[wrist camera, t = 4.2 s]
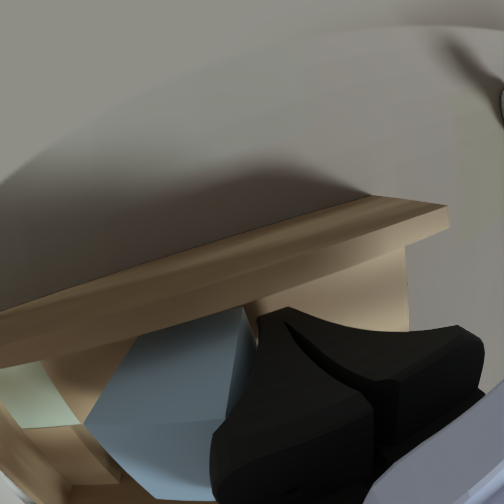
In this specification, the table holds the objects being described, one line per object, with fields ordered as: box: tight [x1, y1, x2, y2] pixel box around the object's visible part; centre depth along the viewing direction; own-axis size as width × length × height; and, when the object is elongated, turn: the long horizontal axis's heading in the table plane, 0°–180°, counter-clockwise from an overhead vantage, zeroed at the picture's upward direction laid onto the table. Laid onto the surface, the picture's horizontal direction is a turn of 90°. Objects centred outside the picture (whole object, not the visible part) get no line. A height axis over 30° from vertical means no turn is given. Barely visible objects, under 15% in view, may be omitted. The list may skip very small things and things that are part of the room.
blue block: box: [83, 306, 258, 501], centre depth 9 cm, size 4×4×5 cm
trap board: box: [0, 195, 450, 504], centre depth 11 cm, size 12×22×5 cm, turn 105°
